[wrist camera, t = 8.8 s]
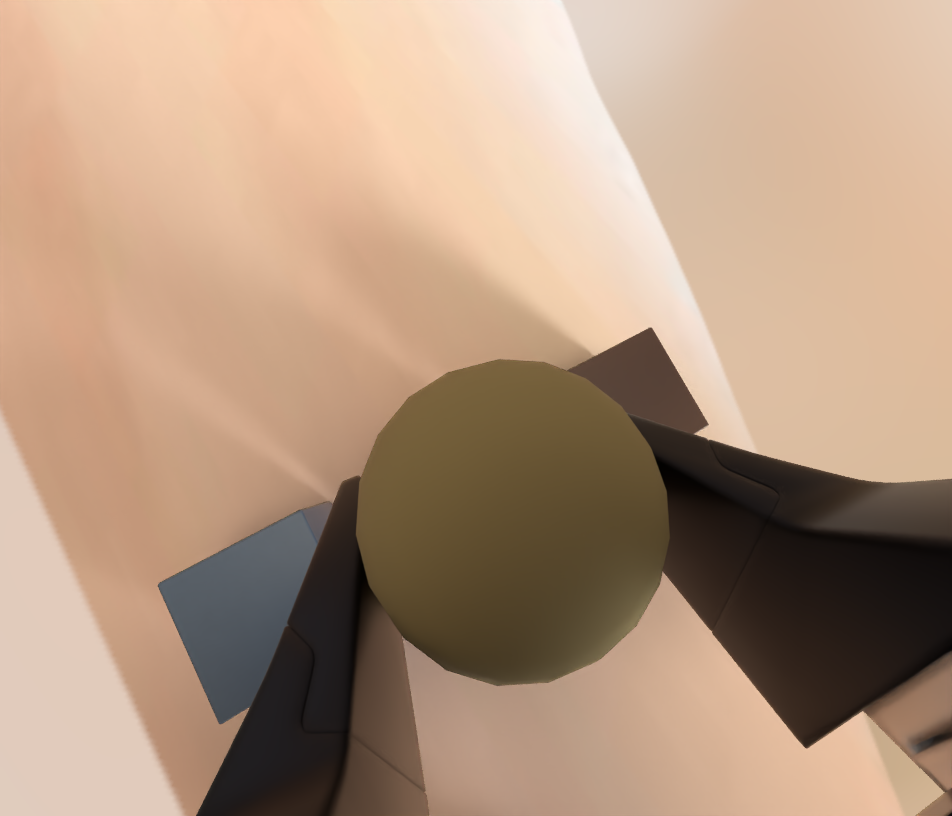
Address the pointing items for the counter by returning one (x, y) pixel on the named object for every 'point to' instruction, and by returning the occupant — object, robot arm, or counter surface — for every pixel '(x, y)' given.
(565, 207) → the counter surface
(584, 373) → the walnut block
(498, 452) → the cork
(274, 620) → the slate block
